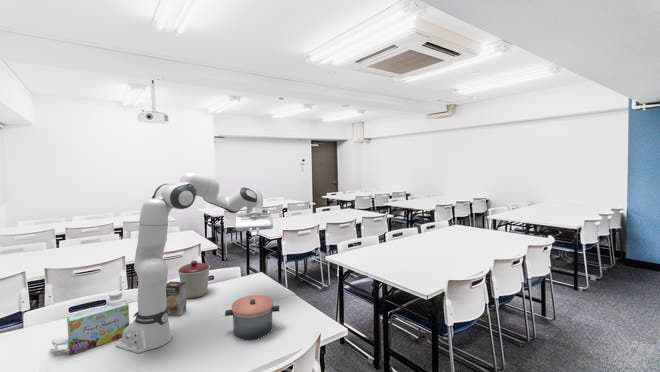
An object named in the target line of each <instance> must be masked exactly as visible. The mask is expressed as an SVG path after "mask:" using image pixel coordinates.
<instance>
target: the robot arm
mask: <svg viewBox="0 0 660 372" xmlns="http://www.w3.org/2000/svg"><path fill="white" fill-rule="evenodd" d="M179 179H180V180H179V182H178V183H177V184H176V183H164V184H161V185H159V186H158V187H156V189H155V190H154V193H153V195H152V197H151V198H149V199H147V200H145V201H144V202H143V204H142V207H141V210H140V215H139V222H138V233H137V234H138V236H137V237H138V238H137V246H136V250H135V254H134V255H135V256H134V262H133V263H134V265H133V268H134V271H135V273H136V275H137V281H138V282H137V296H136V297H137V298H136V299H137V310H138V311H136V312H135V313H134V314H133V315H132V316H133V317H132V318H135V320H133V321H132V322H130V323H129V325H128V326H127V327H126V328H125V329H124V331H123V333H122V338H119V339H117V341H116V343H115V347H116V348H119V349H123V350H126V351H129V352H132V353H136V354H141V353H145V352H146V351H149V350H154V349H157V348H159V347H162V346H164V345H166V344H168V343H169V342H170V341H171V340H172V338H173V334H172V330H171V328H170V322H169V316H168V306H167V300H166V286H167V283H168V274H169V273H168V272H169V269H168V268H169V267H168V265H167V263H166V262H165V260H164V252H165V251H164V250H165V247H166V244H167V240H168V230H169V228H168V226H169V215H170V212H171V211H172V209H176V210H177V209H178V210H184V209H185V210H186V209H188V208H190V207H192V205H193V204H194V202H195V200H196V197H199V198H202V199H203V201H205V202H206V203H208V204H209V205H210V204H211V205H213V206H216V207H219V208H221V209H223V210H225V211H227V212H228V213H230V214H237V213H238V212H240V211H241V210H242V209H243V208H245V207H246V214H245V215H238V216H236V217H235V227H234V228H235V230H236V232H248V231H249V233H250V235H251V237H258V234H259V233H260V231H262V230H272V229H273V228H274V223H273V218H272V215H271V211H270V210H268V209H263V205H264V202H263V201H264V200H263V199H264V198H263V195H262V193H261V192H260V190H258V189H250V188H248V187H240V188H239V189H238V190H237V191H236V192H234V193H233V194H231V195H230V196H226V197H224V196H222V195H219V193H220V184H219V181H218V180H217V179H216V178H215V177H212V176H209V175H206V174H203V173H198V172H191V171H190V172H185V173H184V174H183V175H182V176H181V177H180V178H179ZM253 231H254V232H253Z"/></svg>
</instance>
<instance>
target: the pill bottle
mask: <svg viewBox="0 0 660 372" xmlns="http://www.w3.org/2000/svg"><path fill="white" fill-rule="evenodd" d="M108 296H109V297H108V298H109V299H107V301H106V306H109V305H113V304H117V303H120V302H124V301H125V302H126V303H127V299H126V297H125V296H123V291H122V290H121V291H120V290H117V291H113V292H111V293H110V294H108Z"/></svg>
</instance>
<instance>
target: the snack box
mask: <svg viewBox="0 0 660 372" xmlns="http://www.w3.org/2000/svg"><path fill="white" fill-rule="evenodd" d="M66 321H67V322H66V323H67V337H68V340H69V354H70V355H71V356H72V355H75V354H78V353H80V352H83V351H86V350H89V349H92V348H95V347H98V346H101V345H104V344H107V343H110V342H114V341H115V340H120V339H121V338H122V333H123V331H124V329H125V328H126V327H127V326H128V325H130V311H129V304H128V303H127V301H126V302H125V301H124V302H120V303H117V304H113V305H109V306H107V305H106V306H103V307H99V308H95V309H92V310H91V309H90V310H88V311H85V312H81V313H76V314H73V315H69V316H67V317H66Z"/></svg>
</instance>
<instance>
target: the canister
mask: <svg viewBox="0 0 660 372" xmlns="http://www.w3.org/2000/svg"><path fill="white" fill-rule="evenodd" d="M210 268H211V266H210V265H209V264H208V263H205V262H198V261H197V260H192V261H191V262H190V263H187V264H185V265H183V266H181V267H180V268H178V269H177V274H178V275H179V282H186V299H195V298H200V297H202V296H204V295H206V293H207V291H208V286H209V273H210Z"/></svg>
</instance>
